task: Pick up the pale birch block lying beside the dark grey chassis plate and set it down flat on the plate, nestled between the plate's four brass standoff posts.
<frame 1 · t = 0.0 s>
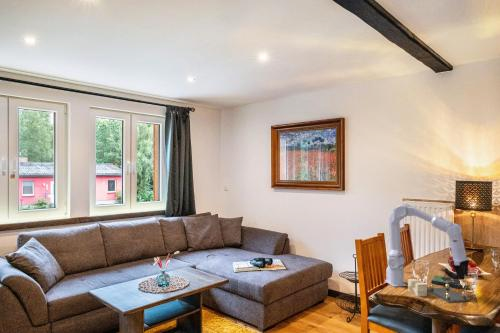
hand: (463, 277, 165), 11 cm above the table, tool pointing down, fingers open, 7 cm apart
chassis: (447, 295, 170), on the table
module block: (417, 293, 173), on the table
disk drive: (448, 285, 186), on the table
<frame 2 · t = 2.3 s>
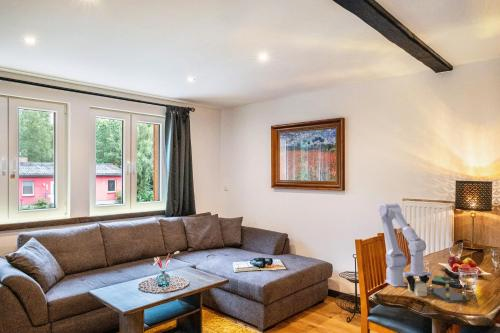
hand: (417, 290, 173), 1 cm above the table, tool pointing down, fingers closed on module block, 5 cm apart
module block: (417, 293, 173), on the table, touching gripper
everything else where it was.
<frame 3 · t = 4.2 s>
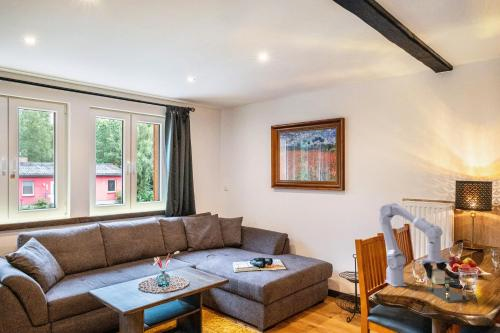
hand: (434, 277, 171), 9 cm above the table, tool pointing down, fingers closed on module block, 5 cm apart
module block: (434, 281, 171), point 7 cm above the table, touching gripper
everything else where it was.
when the fingers open (3 cm above the table, at t = 6.3 s): module block stays where it is, resting on chassis.
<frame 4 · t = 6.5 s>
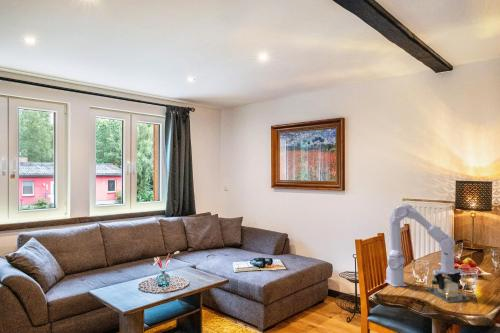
hand: (447, 288, 170), 3 cm above the table, tool pointing down, fingers open, 6 cm apart
module block: (447, 293, 170), point 1 cm above the table, touching chassis
everything else where it was.
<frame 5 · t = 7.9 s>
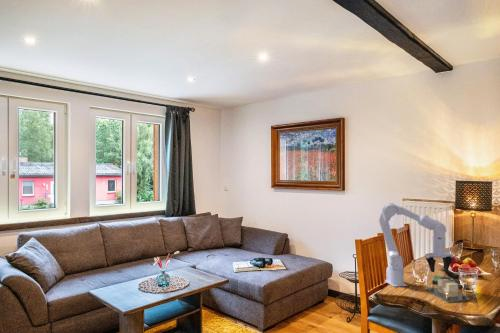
hand: (439, 271, 179), 9 cm above the table, tool pointing down, fingers open, 7 cm apart
nothing on the table moved.
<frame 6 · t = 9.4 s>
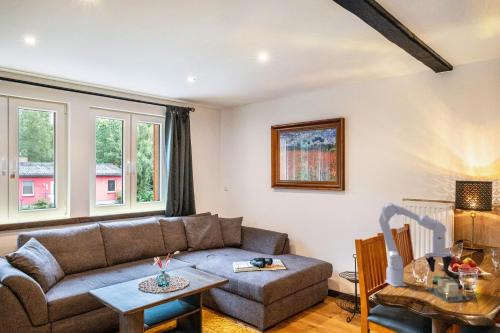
hand: (439, 271, 179), 9 cm above the table, tool pointing down, fingers open, 7 cm apart
nothing on the table moved.
at the end: module block 0.2 cm off-centre on the chassis, point 1.0 cm above the chassis's base; module block tilted 0°; the gripper is holding nothing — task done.
